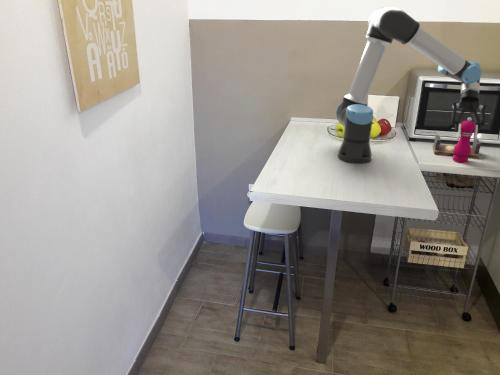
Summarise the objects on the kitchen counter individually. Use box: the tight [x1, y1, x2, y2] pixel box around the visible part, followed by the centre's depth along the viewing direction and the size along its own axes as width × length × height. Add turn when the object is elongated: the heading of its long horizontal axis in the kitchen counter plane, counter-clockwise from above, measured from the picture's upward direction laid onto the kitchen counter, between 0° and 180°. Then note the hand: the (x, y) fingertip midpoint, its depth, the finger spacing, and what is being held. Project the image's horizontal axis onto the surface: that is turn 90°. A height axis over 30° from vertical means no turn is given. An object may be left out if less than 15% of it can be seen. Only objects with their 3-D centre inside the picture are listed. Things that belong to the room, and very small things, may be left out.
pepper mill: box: [452, 117, 476, 164], centre depth 179 cm, size 7×7×20 cm
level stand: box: [431, 134, 482, 160], centre depth 192 cm, size 19×12×6 cm, turn 71°
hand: (466, 138), depth 175 cm, fingers closed on pepper mill, 6 cm apart
